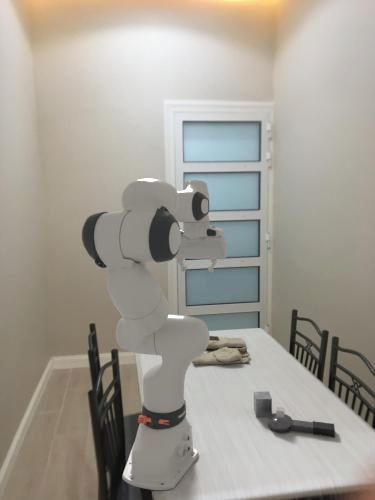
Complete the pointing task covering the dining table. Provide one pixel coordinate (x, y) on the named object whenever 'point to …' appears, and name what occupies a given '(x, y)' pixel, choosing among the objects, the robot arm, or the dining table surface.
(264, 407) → the plain grey cube block
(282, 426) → the ratchet
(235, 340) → the pair of gloves
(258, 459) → the dining table surface
